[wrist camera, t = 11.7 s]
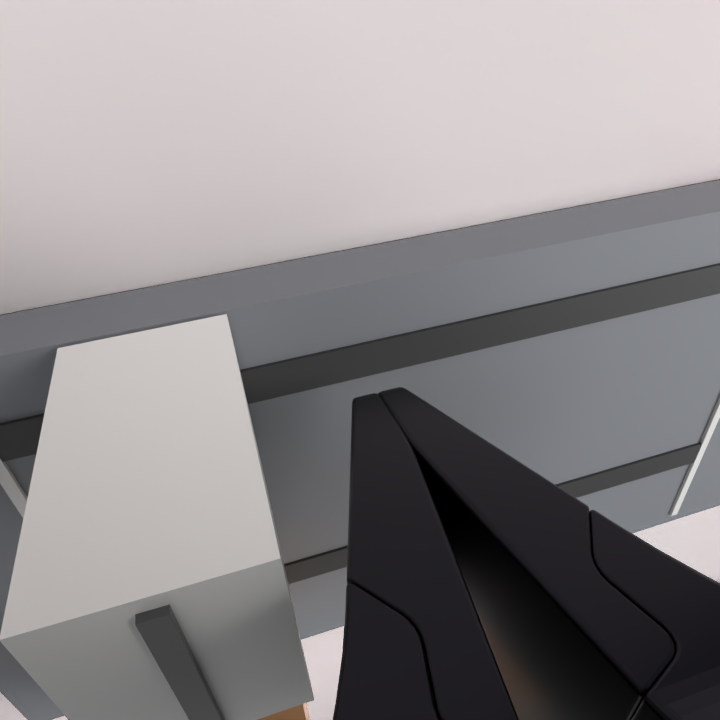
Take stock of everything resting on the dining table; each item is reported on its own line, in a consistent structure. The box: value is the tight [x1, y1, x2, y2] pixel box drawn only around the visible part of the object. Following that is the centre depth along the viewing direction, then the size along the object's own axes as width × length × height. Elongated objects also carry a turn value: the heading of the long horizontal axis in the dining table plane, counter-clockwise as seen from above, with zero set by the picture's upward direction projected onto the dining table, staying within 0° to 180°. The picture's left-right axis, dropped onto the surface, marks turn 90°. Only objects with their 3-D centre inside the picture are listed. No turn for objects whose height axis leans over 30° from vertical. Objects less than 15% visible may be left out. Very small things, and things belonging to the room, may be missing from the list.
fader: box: [0, 314, 314, 720], centre depth 8 cm, size 3×2×4 cm
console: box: [0, 180, 720, 720], centre depth 13 cm, size 10×20×1 cm, turn 93°
